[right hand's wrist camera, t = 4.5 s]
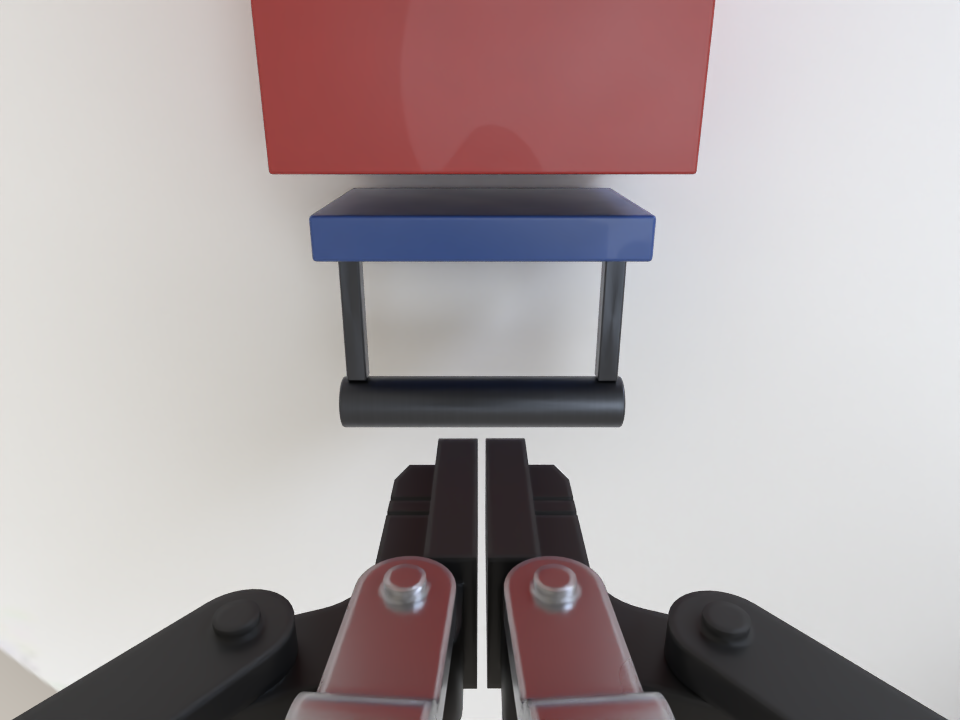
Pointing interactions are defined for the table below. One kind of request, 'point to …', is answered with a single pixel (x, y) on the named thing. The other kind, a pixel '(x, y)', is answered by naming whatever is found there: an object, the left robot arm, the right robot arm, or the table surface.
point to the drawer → (482, 238)
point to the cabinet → (482, 85)
